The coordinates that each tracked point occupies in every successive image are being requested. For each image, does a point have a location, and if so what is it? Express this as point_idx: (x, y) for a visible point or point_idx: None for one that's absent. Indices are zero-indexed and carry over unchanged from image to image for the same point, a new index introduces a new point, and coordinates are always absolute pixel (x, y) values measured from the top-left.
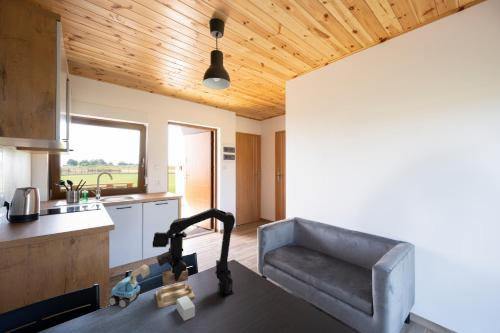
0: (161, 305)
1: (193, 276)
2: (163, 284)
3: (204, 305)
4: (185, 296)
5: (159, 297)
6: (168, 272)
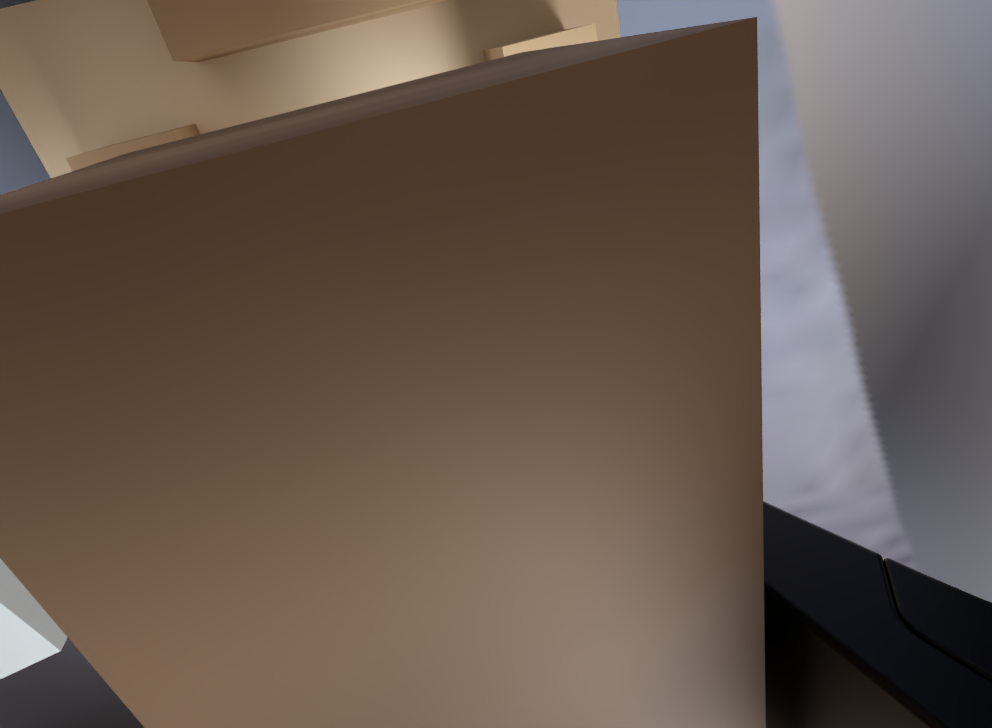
0: (6, 96)
1: (864, 501)
2: (232, 126)
3: (116, 716)
4: (18, 638)
5: (159, 13)
6: (495, 502)
